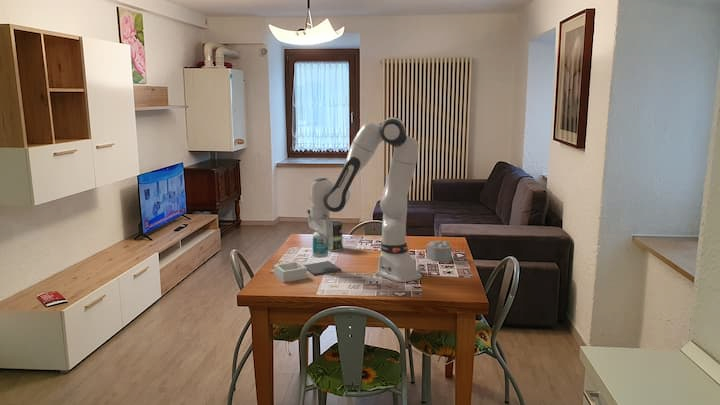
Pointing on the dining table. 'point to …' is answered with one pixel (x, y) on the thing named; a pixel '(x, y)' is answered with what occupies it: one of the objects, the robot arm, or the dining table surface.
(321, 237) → the pill bottle
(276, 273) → the holder
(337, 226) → the coffee can
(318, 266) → the mat
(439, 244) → the grey bumpy block
